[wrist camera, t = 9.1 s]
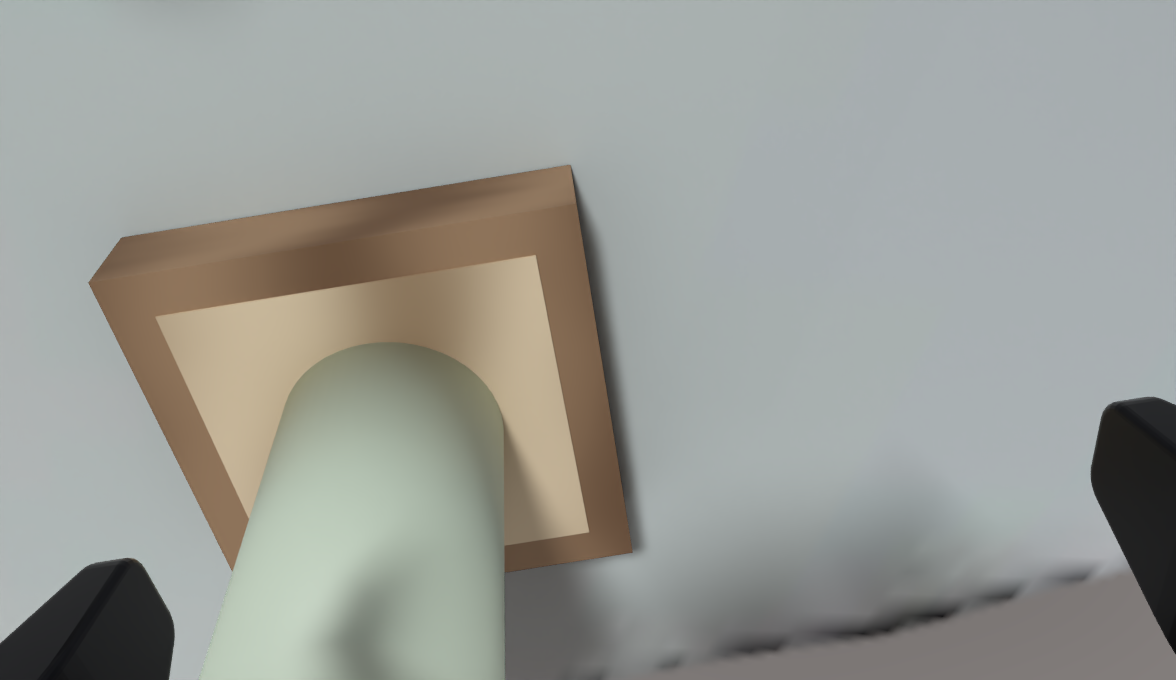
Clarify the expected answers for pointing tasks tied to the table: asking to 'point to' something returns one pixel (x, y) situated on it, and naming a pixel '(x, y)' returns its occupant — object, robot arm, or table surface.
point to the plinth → (381, 340)
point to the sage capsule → (374, 529)
